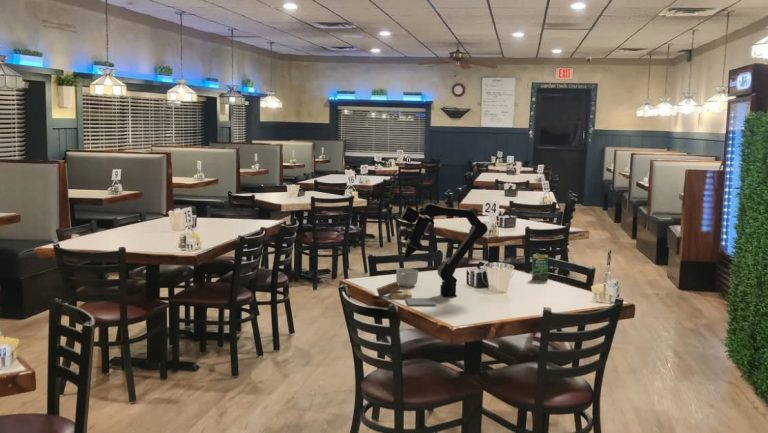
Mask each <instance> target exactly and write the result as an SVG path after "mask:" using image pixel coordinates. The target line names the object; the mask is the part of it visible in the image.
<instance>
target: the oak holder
mask: <svg viewBox="0 0 768 433" xmlns="http://www.w3.org/2000/svg"><path fill="white" fill-rule="evenodd" d="M389 295H390V298H391V300H392V299H393V300H396V299H397V300H406V298H413V295H412V292H411V290H410V289H400V290H398V291H395V292H393V293H390V294H389Z"/></svg>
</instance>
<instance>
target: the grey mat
mask: <svg viewBox="0 0 768 433" xmlns="http://www.w3.org/2000/svg"><path fill="white" fill-rule="evenodd" d="M405 302H406V304H407V306H408V307H436V306H437V304H436V302H435V301H434V299H433V298H432V297H424V298H423V297H414V298H413V297H412V298H406V299H405Z"/></svg>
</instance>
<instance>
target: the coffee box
mask: <svg viewBox="0 0 768 433" xmlns="http://www.w3.org/2000/svg"><path fill="white" fill-rule="evenodd" d="M531 259H532V261H531V265H532V266H531V267H532V268H531V279H532V280H534V281H548V278H549V255H548V254H532V258H531Z"/></svg>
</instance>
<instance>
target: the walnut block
mask: <svg viewBox="0 0 768 433" xmlns="http://www.w3.org/2000/svg"><path fill="white" fill-rule="evenodd" d="M398 290H401V289H400V285H399V284H398V283H397V281H396V280H395V281H393V282H391V283H388V284H385V285H382V286H380V287H377V288H376V291H377V295H378V298H381V297H384V296H387V295H390V293H393V292H395V291H398Z"/></svg>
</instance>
